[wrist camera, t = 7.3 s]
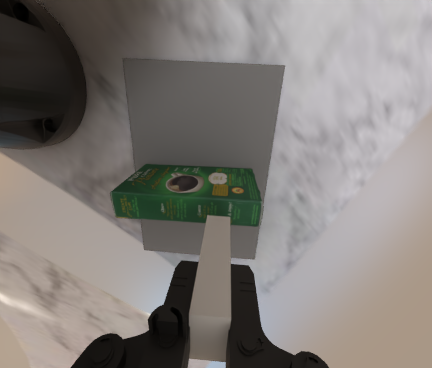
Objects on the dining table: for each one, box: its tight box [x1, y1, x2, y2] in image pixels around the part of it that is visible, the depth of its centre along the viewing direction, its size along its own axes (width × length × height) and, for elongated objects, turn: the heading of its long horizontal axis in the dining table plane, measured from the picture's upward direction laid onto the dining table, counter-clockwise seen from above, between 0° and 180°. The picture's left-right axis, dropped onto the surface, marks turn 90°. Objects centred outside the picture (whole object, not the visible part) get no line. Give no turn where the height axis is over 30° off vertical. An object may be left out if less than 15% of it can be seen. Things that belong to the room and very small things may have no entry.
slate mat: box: [123, 58, 285, 259], centre depth 24 cm, size 16×24×1 cm, turn 177°
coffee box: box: [110, 164, 264, 227], centre depth 21 cm, size 8×3×13 cm
